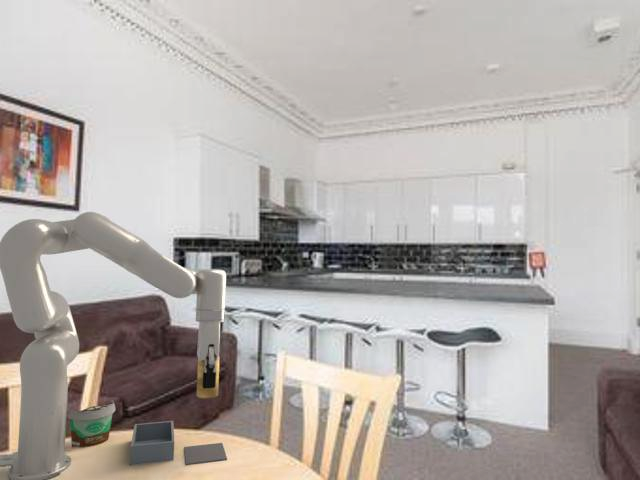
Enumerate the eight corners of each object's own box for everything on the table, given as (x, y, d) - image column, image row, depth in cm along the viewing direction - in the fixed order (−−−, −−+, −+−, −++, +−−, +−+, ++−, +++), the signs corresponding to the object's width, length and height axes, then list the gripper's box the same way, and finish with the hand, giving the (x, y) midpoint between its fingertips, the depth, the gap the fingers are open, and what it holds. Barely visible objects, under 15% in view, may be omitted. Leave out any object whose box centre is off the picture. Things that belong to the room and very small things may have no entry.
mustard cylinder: (197, 399, 110) (198, 359, 111) (195, 392, 115) (197, 355, 116) (219, 397, 112) (220, 358, 113) (216, 391, 117) (218, 354, 118)
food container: (76, 455, 111) (78, 416, 111) (65, 448, 115) (67, 410, 115) (122, 440, 121) (124, 404, 121) (111, 434, 124) (113, 399, 125)
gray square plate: (186, 467, 107) (186, 463, 107) (184, 449, 116) (184, 446, 116) (226, 461, 110) (227, 458, 110) (222, 445, 119) (222, 442, 119)
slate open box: (129, 467, 106) (130, 446, 106) (133, 442, 119) (134, 424, 120) (173, 461, 109) (174, 441, 109) (172, 438, 123) (173, 420, 123)
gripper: (193, 311, 122) (191, 376, 121) (198, 320, 105) (195, 395, 105) (220, 311, 124) (218, 375, 123) (229, 319, 108) (226, 393, 107)
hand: (207, 383), depth 114 cm, fingers closed on mustard cylinder, 5 cm apart
